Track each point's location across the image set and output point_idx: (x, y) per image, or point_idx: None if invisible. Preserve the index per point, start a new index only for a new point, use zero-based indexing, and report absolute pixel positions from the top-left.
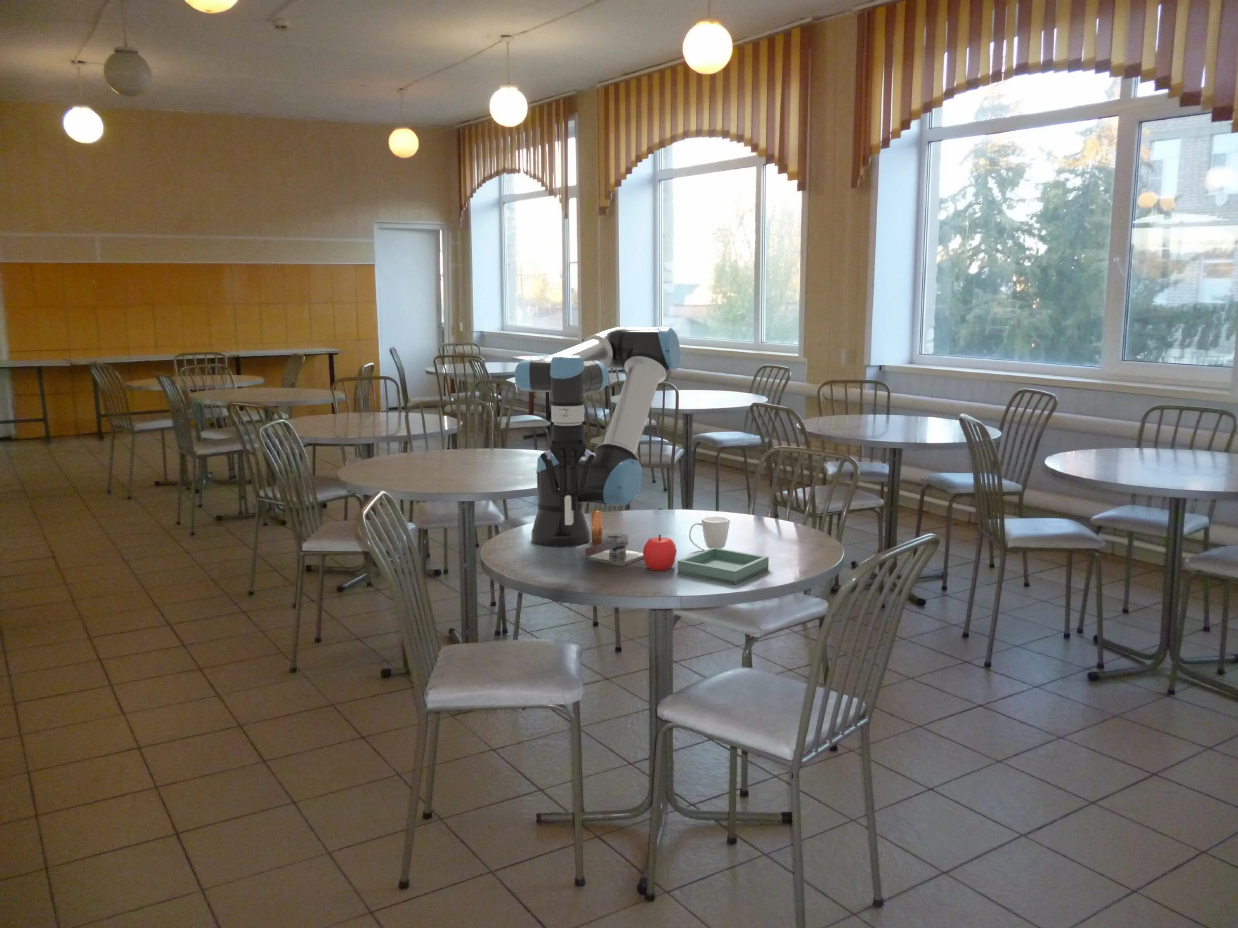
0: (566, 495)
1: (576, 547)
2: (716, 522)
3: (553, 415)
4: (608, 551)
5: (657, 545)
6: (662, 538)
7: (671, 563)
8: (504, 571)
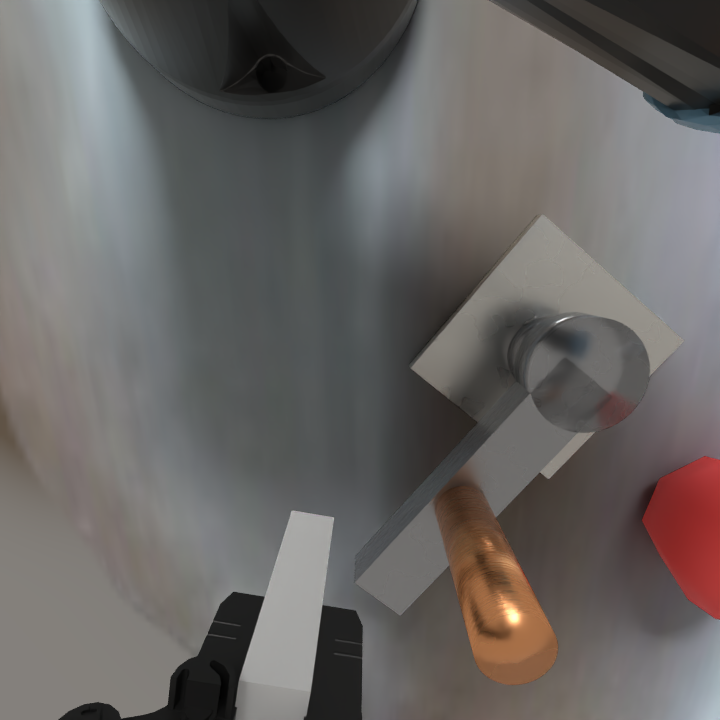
0: (236, 709)
1: (357, 583)
2: None
3: None
4: (509, 287)
5: None
6: None
7: None
8: (81, 515)
